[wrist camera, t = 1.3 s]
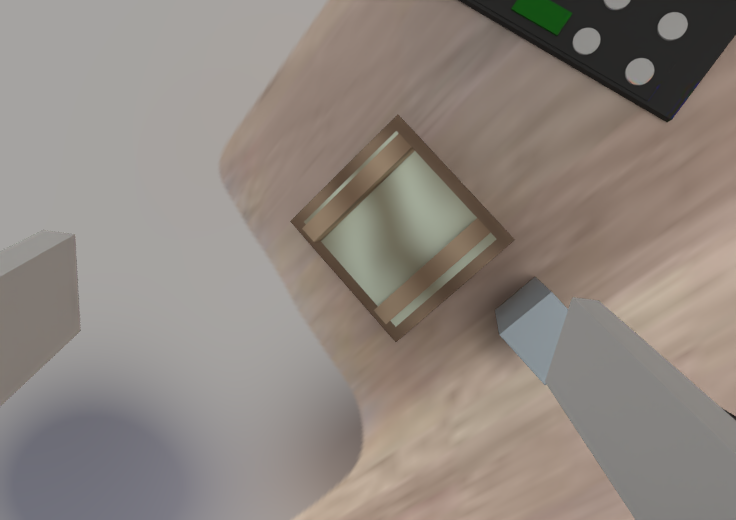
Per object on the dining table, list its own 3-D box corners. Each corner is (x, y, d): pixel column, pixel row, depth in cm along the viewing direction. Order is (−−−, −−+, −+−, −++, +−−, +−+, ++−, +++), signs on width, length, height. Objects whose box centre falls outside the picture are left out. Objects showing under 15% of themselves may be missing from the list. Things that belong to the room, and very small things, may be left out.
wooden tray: (404, 123, 44) (393, 108, 38) (511, 238, 42) (517, 240, 36) (304, 221, 46) (280, 221, 41) (402, 333, 45) (391, 348, 39)
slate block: (534, 276, 42) (551, 292, 32) (571, 316, 42) (599, 343, 32) (494, 310, 43) (499, 334, 33) (530, 348, 42) (545, 385, 33)
